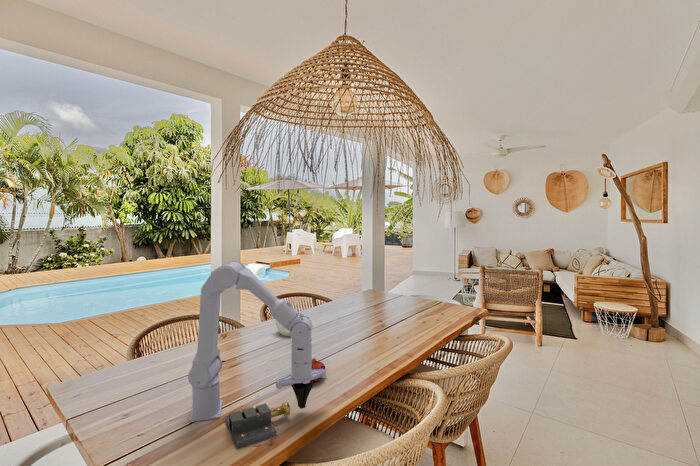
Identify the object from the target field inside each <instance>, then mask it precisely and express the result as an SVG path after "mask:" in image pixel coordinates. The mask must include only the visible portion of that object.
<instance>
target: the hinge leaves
mask: <svg viewBox="0 0 700 466" xmlns="http://www.w3.org/2000/svg"><path fill="white" fill-rule="evenodd" d="M270 409H271V408H270V407H269V406H268V404H267V403H262V404H259V405H256V406H255V407H254V406H252V407H247V408H244V409H242V411H240V410H237V411H233V412H229V413H228V415H225V418H224V419H225V424H226V426H227V429H228V432H229V434H230V436H231V438H232V440H233V443H234V446H235V449H237V450H239V449H242V448H244V447H248V446H251V445H253V444H257V443H260V442H263V441H265V440H268V439H273V438H275V437H277V435H278V434H277V433H278V431H277V429H276V427H275V425H274V424H273V423H272V418H271V410H270ZM258 412H259V414H260V415H258V414H257V413H258Z"/></svg>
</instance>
